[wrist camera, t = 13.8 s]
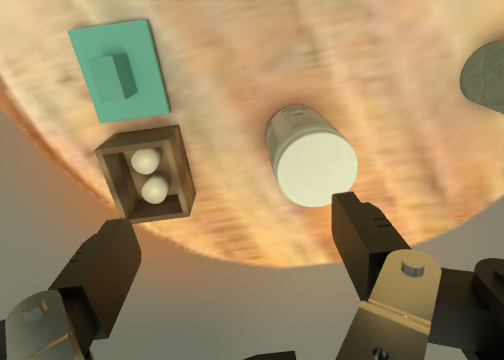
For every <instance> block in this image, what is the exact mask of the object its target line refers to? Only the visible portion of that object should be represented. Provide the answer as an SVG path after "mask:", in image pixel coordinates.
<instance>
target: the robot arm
mask: <svg viewBox="0 0 504 360" xmlns="http://www.w3.org/2000/svg"><path fill="white" fill-rule="evenodd" d="M332 235H333V239H334V242H335V245H336V247H337V249H338V251H339V253H340V256H341V258H342V260H343V262H344V264H345V267H346V269H347V271H348V274H349V276H350V278H351V280H352V282H353V285H354V287H355V289H356V291H357V294H358V296H359V298H360V300H361V304H360V306H359V308H358V310H357V313H356V315H355V317H354V320H353V322H352V324H351V326H350V328H349V330H348V333H347V335H346V338H345V339H344V342H343V344H342V346H341V348H340V351H339V353H338V355H337V357H336V360H424V357H425V353H426V348H427V343H433V344H438V345H444V346H449V347H454V348H459V349H461V350H462V352H463V353H464V355H465V356H466V358H467V359H468V360H504V259H497V258H489V259H483V260H481V261H479V262H478V263H477V264H476V266H475V269H474V272H470V271H461V270H453V269H446V268H441V267H440V266H439V264H438V263H437V262H436V261H435V260H434V259H433V258H431V257H430V256H428V255H426V254H424V253H422V252H419V251H415V250H412V249H411V248H410V247H409V245H408V244H407V243H406V242H405V240H404V239H403V238H402V237H401V235H400V234H399V233H398V232H397V230H396V229H395V228H394V226H392V224H391V223H390V221H389V220H388V219H386V216H385V215H384V214H383V213H382V211H381V210H380V209H379V208H377V207H376V206H374V205H372V204H370V203H369V202H367V203H361V202H360V201H359V199H358V198H357V196H356V195H355V194H354V192H352V191H351V192H343V193H334V194H332ZM140 263H141V249H140V246H139V244H138V241H137V238H136V235H135V232H134V230H133V227H132V224H131V222H130V220H129V219H128V218H121V219H112V220H107V221H106V222H105V223H104V224H103V226H102V227H101V228H100V230H99V231H98V233H97V234H94V235H93V236H91V237H90V238H89V239H88V240H86V241H85V242H84V243H82V245H81V246H80V248H79V249H78V250H77V252H76V253H75V255H73V257H72V258H71V259H70V261H69V263H68V264H67V265H66V266H65V267H64V269H63V270H62V271H61V273H60V274H59V275H58V277H57V278H56V279H55V281H54V282H53V283H52V285H51V286H50V287H49V289H48V290H46V291H42V292H38V293H36V294H33V295H32V296H29V297H28V298H26V299H25V300H23V301H21V302H20V303H19V304H18V305H16V306H15V307H14V308H13V309H12V310H11V312H10V313H9V314H8V316H7V318H6V319H5V320H2V321H0V360H95V359H94V356H93V353H92V351H91V349H90V346H91V344H92V342H93V340H98V339H107V338H109V335H110V333H111V331H112V329H113V326H114V324H115V322H116V319H117V317H118V315H119V312H120V310H121V307H122V305H123V303H124V301H125V299H126V296H127V294H128V292H129V289H130V287H131V285H132V282H133V280H134V278H135V275H136V273H137V271H138V268H139V266H140ZM244 360H296V355H295V351H287V352H278V353H268V354H259V355H255V356H252V357H249V358H247V359H244Z"/></svg>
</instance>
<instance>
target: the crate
mask: <svg viewBox="0 0 504 360" xmlns="http://www.w3.org/2000/svg"><path fill="white" fill-rule="evenodd" d="M155 147H161V148H162V150H163V158H162V160H161V161H160V163H159V165H158V166H157V168H156V169H155V171H154V172H157V171H160V172H164V173H166V174H167V175H168V176H169V177H170V179H171V186H170V188H169V191H168V193H167V195H166V197H165V199H164V200H163V201H162V202H160V203H157V204H153V203H150V202H148V201H146V200H145V199H144V198H143V196H142V192H141V191H142V188H143V186H144V185H145V183H146V181H147V180H148V178H149V177H150V175H151V174H152V173H154V172H152V173H150V174H141V173H139V172H137V171H136V170H135V169H134V168H133V166H132V163H131V159H132V156H133V155H134V154H135V152H136V151H137V150H141V149H148V148H155ZM94 151H95V153H96V156H97V159H98V161H99V164H100V166H101V169H102V171H103V174H104V177H105V179H106V182H107V184H108V187H109V189H110V192H111V195H112V197H113V200H114V202H115V205H116V207H117V210H118V213H119V215H120V218H128V219H129V220H130V222H131V224H137V223H144V222H152V221H159V220H167V219H174V218H182V217H189V216H190V213H191V209H192V206H193V202H194V199H195V195H196V192H195V188H194V184H193V180H192V176H191V172H190V168H189V164H188V160H187V156H186V152H185V148H184V144H183V140H182V136H181V132H180V128H179V125H175V126H168V127H161V128H154V129H147V130H140V131H133V132H126V133H119V134H114V135H113V136H111V137H110V138H109V139H108V140H106V141H105V142H104V143H103V144H101V145H100V146H99V147H98V148H96V149H95V150H94Z"/></svg>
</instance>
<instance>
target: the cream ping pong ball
mask: <svg viewBox="0 0 504 360" xmlns="http://www.w3.org/2000/svg"><path fill="white" fill-rule="evenodd" d="M162 158H163V150H162V148H161V147H155V148H148V149H141V150H137V151H136V152H135V154H134V155H133V156H132V159H131V163H132V166H133V168H134V169H135V170H136V171H137V172H139V173H141V174H150V173H152V172H154V171H155V169H156V168H157V166H158V165H159V163H160V161H161V160H162Z"/></svg>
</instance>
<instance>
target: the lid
mask: <svg viewBox="0 0 504 360" xmlns="http://www.w3.org/2000/svg"><path fill="white" fill-rule="evenodd" d="M67 31H68V34H69V36H70V39H71V42H72V45H73V48H74V50H75V53H76V56H77V59H78V62H79V64H80V67H81V70H82V73H83V76H84V78H85V81H86V84H87V87H88V90H89V92H90V95H91V98H92V101H93V104H94V106H95V109H96V112H97V115H98V118H99V121H100V123H106V122H113V121H120V120H128V119H135V118H143V117H150V116H158V115H165V114H170V107H169V103H168V99H167V95H166V91H165V87H164V83H163V79H162V75H161V71H160V67H159V63H158V59H157V55H156V51H155V47H154V43H153V39H152V35H151V30H150V26H149V22H148V19H143V20H136V21H129V22H122V23H115V24H108V25H101V26H94V27H87V28H80V29H73V30H67Z"/></svg>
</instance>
